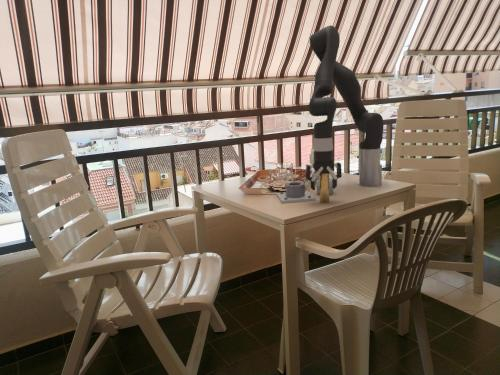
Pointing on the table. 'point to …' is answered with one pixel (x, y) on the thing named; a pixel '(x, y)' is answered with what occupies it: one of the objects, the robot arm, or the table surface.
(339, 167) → the robot arm
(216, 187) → the table surface
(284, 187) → the plant saucer
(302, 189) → the flange coupling
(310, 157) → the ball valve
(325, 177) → the cylinder
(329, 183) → the grey wide stub
